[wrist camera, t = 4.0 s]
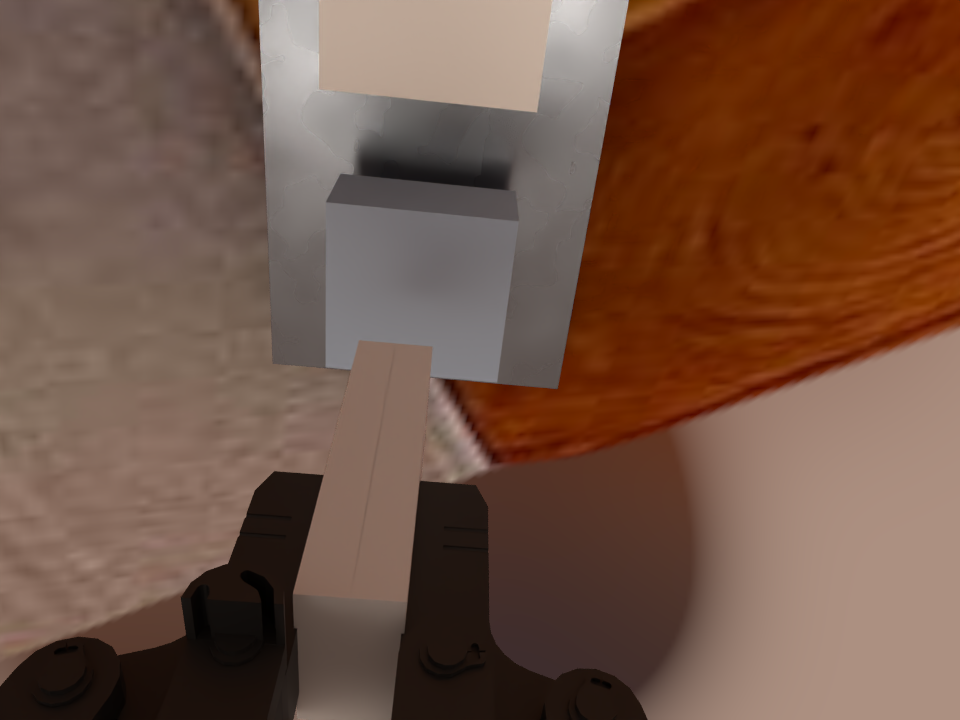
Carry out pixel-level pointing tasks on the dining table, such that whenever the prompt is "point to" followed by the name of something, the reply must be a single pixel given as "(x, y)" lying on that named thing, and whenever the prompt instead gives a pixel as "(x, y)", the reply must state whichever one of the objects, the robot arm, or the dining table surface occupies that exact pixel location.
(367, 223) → the blue key
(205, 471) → the dining table surface
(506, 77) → the white key
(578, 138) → the console
